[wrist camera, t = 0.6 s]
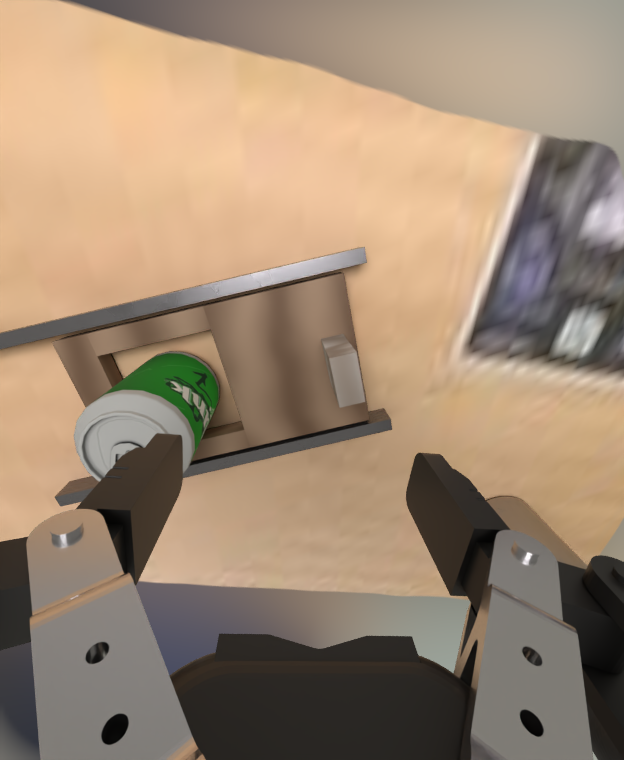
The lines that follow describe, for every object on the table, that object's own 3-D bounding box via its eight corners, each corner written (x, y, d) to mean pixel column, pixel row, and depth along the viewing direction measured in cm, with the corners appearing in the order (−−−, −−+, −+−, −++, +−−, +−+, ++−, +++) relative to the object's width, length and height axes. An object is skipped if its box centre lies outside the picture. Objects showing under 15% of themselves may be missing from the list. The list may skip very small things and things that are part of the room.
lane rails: (358, 247, 29) (364, 247, 27) (385, 418, 35) (392, 429, 33) (-17, 336, 29) (-43, 343, 27) (74, 490, 35) (60, 506, 33)
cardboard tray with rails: (340, 271, 29) (358, 277, 22) (365, 410, 34) (387, 453, 27) (66, 336, 29) (-9, 363, 22) (130, 465, 34) (87, 523, 27)
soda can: (139, 412, 33) (63, 493, 22) (145, 340, 30) (62, 389, 19) (216, 425, 34) (182, 509, 23) (227, 357, 32) (195, 412, 20)
